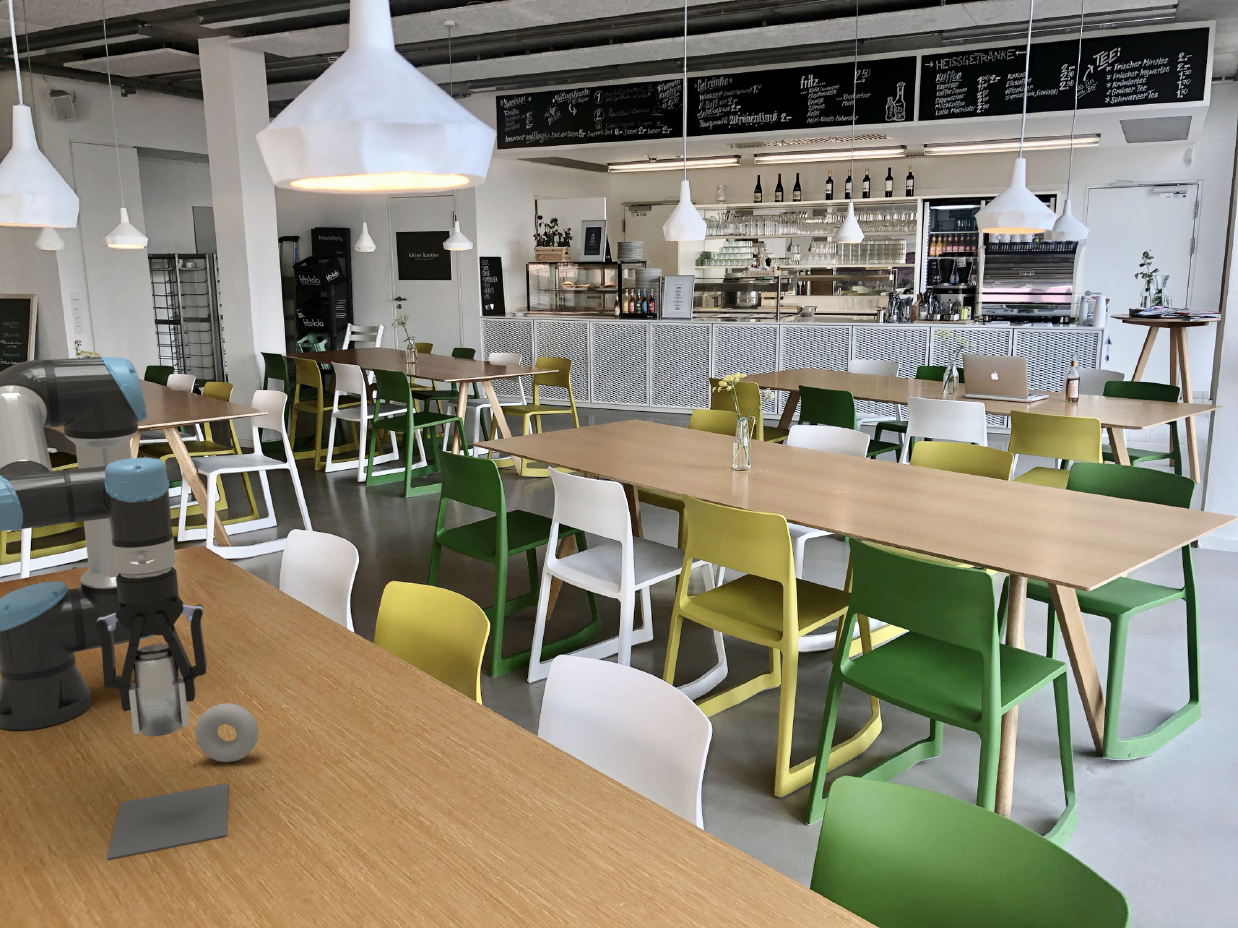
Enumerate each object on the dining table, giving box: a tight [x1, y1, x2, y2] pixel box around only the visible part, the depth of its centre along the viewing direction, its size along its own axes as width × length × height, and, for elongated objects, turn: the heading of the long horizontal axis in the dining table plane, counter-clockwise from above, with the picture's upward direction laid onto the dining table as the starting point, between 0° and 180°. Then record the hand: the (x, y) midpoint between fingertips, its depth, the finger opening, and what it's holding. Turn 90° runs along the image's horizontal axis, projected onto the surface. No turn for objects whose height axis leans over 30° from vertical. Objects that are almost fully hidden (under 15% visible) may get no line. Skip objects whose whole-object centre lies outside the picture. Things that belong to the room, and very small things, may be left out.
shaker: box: [133, 643, 182, 737], centre depth 131 cm, size 6×6×12 cm
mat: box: [106, 782, 229, 861], centre depth 135 cm, size 15×15×1 cm
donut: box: [194, 702, 259, 763], centre depth 151 cm, size 10×4×10 cm, turn 92°
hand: (161, 725), depth 132 cm, fingers closed on shaker, 6 cm apart
